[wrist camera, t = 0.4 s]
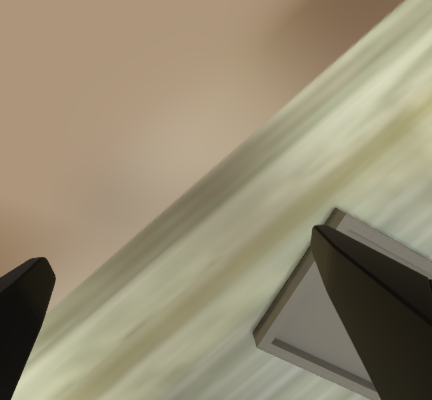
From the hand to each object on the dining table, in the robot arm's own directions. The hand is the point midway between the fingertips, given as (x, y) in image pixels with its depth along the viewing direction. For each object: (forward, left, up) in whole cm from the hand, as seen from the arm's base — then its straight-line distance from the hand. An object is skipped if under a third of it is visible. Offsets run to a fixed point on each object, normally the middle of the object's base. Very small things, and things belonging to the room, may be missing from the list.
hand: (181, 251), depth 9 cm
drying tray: (-4, -20, -15) cm, 26 cm away
